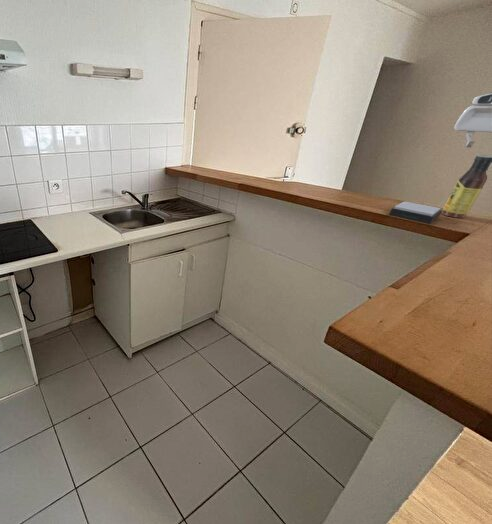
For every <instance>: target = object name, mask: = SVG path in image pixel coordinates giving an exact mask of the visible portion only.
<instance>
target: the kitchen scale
mask: <svg viewBox="0 0 492 524" xmlns="http://www.w3.org/2000/svg"><path fill="white" fill-rule="evenodd" d="M442 211H443V209H442V208H441V207H436V206H433V205H426V204H421V203H416V202H412V201H411V202H410V201H406V200H404V201H403V202H401V203H398V204H397V205H395V206H394V207H392V208H391V209H390V212H389V216H392V217H396V218H401V219H404V220H405V219H406V220H409V221H414V222H417V223H422V224H423V223H424V224H428V225H430V224H432V223H433V222H435V221H436V220H437V219H438V218H439V217H440V216H441V214H442Z"/></svg>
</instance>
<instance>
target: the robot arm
mask: <svg viewBox="0 0 492 524" xmlns="http://www.w3.org/2000/svg"><path fill="white" fill-rule="evenodd" d="M471 104H472V105H470V106H468V107H467V108H466V109H464V111H463V112H462V113H461V115H460V116H459V118H458V119H457V121H456V122H455V125H454V127H453V129H454V131H456V132H466V134H465V138H466V143H465V145H464V148H469V149H471V148H472V147H473V146H474V144H475V142H476V141H473V140H472V136H473V135H474V134H475V133H492V92H489V93H486V94H482V95H478V96H476V97H474V98H473V100H472V102H471Z"/></svg>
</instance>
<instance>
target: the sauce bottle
mask: <svg viewBox="0 0 492 524" xmlns="http://www.w3.org/2000/svg"><path fill="white" fill-rule="evenodd" d="M473 159H474V160H473V163H472V165H471V166H470V167H469V169H468V170H467V171H466V172H465V173H464V174H463V175H462V176H461V177H459V178H458V180H457V182H456V184H455V185H454V187H453V189H452V191H451V193H450V194H449V197H448V198H447V201H446V203H445V204H444V206H443V207H442V212H441V214H442V215H443V216H446V217H450V218H455V219H462V218H463V219H464V218H466V216H467V215H468V213H469V212H470V211H471V209H472V207H473V205H474V204H475V202H476V200H477V198H479V195H480V194H481V192H482V190H483V188H484V186H485V184H486V182H487V180H488V175H487V171H488V170H489V167H490V166H491V164H492V155H486V154H479V155H476V156H475V158H473Z"/></svg>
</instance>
